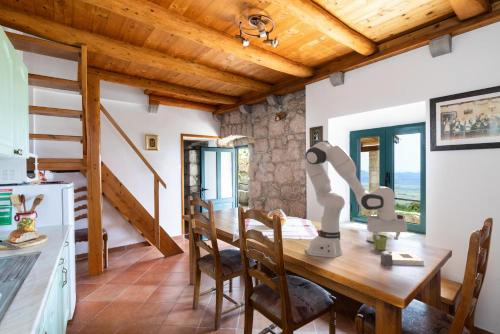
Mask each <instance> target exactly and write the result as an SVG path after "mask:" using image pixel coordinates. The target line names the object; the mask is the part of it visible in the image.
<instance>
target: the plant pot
mask: <svg viewBox="0 0 500 334" xmlns="http://www.w3.org/2000/svg"><path fill="white" fill-rule="evenodd" d="M377 235H378V236H379V237H380V240H377V239H376V235H375V234H374V235H372V237H373V239H374V242H373V243H374V249H375V250H377V251H386V248H387V242H388V241H387V240H388V238H389V236H387V235H385V234H380V233H378V234H377Z"/></svg>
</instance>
